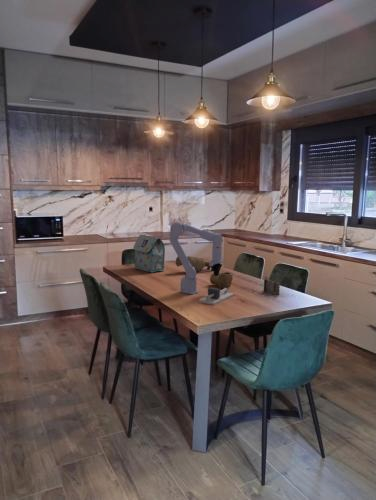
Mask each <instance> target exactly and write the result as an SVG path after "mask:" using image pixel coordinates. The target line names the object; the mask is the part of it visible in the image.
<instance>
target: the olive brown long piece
mask: <svg viewBox="0 0 376 500" xmlns="http://www.w3.org/2000/svg"><path fill="white" fill-rule="evenodd" d="M187 258H188V260H189V262H190V264H191V265H192V266H193V267H194V268H195V271H196V272H198V271H202V270H204V268H205V267H207V270H208V271H209V270H210V271H212V272H213V269H212V267H211V266H209V262H210V261H209V262H208V261H205V260H204V258H203V257H198V256H197V257H196V256H189V255H188V256H187ZM175 266H176V267H180V266H183V265H182V263H181V261H180V259H179V257H178V256H177V257H176V259H175Z"/></svg>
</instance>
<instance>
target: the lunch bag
mask: <svg viewBox="0 0 376 500" xmlns="http://www.w3.org/2000/svg"><path fill="white" fill-rule="evenodd" d="M133 250H134V269H136V270H138V269H139V271H143V272H147V273H155V272H164V271H165V254H166V251H165V250H166V248H165V244H164V241H163V240H162V239H161V237H156V236H152V235H147V234H140V235H138V237H137V239H136V241H135V243H134V244H133Z"/></svg>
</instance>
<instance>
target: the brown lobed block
mask: <svg viewBox="0 0 376 500" xmlns="http://www.w3.org/2000/svg"><path fill="white" fill-rule="evenodd" d="M209 277H210V278H209V282H210V284H212V285H217V286H219V287H220V288H222V289H224V288H228V289H229V288H231V286H232V281H233V273H232V272H229V271H226V272H219V275H218V276H214V272H213V273H212V274H211V275H210V276H209Z"/></svg>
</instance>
